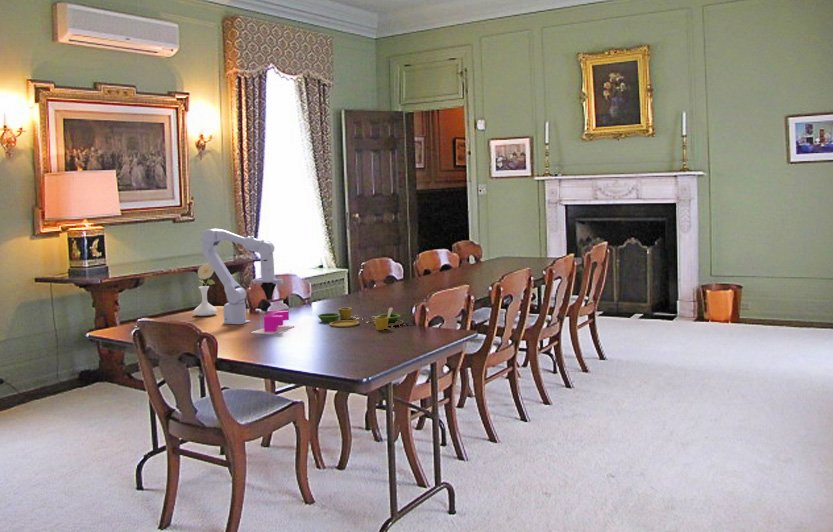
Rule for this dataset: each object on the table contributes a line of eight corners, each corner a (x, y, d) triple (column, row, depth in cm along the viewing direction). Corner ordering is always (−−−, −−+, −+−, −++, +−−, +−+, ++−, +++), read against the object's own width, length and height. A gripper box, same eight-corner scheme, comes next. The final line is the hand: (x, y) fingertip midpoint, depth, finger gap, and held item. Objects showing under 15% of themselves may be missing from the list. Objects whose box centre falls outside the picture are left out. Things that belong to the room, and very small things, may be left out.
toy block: (264, 331, 338) (282, 331, 338) (263, 317, 337) (281, 316, 337) (271, 325, 353) (289, 325, 353) (271, 311, 352) (288, 310, 352)
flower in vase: (187, 316, 386) (185, 264, 383) (206, 312, 395) (203, 261, 392) (206, 318, 378) (204, 265, 376) (225, 314, 388) (222, 262, 385)
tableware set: (416, 326, 347) (416, 312, 346) (362, 335, 330) (362, 320, 330) (362, 315, 380) (362, 301, 379) (311, 322, 363) (310, 308, 362)
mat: (250, 333, 338) (250, 332, 338) (274, 325, 355) (274, 324, 355) (271, 334, 334) (271, 333, 334) (294, 326, 351) (294, 325, 351)
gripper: (248, 270, 359) (250, 300, 360) (276, 270, 353) (278, 301, 355) (257, 268, 366) (259, 298, 367) (285, 268, 360) (287, 298, 361)
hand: (269, 299), depth 361 cm, fingers closed
